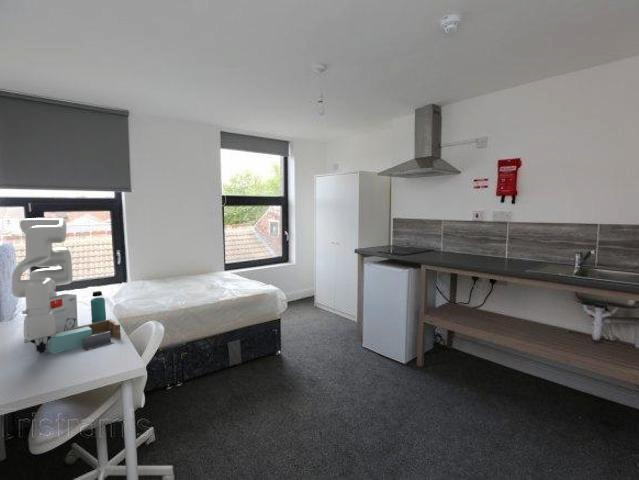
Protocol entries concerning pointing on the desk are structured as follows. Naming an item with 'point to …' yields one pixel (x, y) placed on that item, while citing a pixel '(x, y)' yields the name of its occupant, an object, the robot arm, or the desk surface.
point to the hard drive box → (64, 312)
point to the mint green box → (68, 339)
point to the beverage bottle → (98, 308)
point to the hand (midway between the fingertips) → (41, 352)
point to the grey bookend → (96, 341)
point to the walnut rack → (103, 328)
